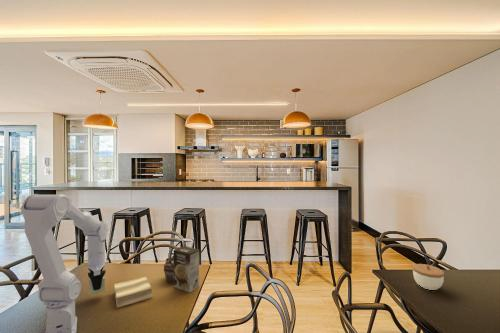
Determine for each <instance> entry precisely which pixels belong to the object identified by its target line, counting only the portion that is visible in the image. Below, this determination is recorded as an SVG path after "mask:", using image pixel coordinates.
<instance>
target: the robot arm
mask: <svg viewBox="0 0 500 333" xmlns="http://www.w3.org/2000/svg"><path fill="white" fill-rule="evenodd" d="M19 209H20V211H21V214H22V217H23V219H24V233H25V236H26V240H27V241H28V243H29V245H30V246H29V247H30V248H31V250H32V253H33V256H34V258H35V261H36V262H37V266H38V268H39V270H40V273H41V276H42V278H41V280H40V282H39V283H38V284H37V288H38V299H39V300H40V301H41V302H43V305H44V306H45V308H46V310H45V314H46V315H45V316H46V318H45V319H46V327H45V333H77V327H78V326H77V325H78V316H76V299H77V298H78V296H80V293H81V290H82V283H81V281H80V279H78V278H77V276H76V275H75V274H74V273H72V272H71V271H68V270H67V268H66V266H65V263H64V260H63V258H62V254H61V252H60V249H59V246H58V244H57V241H56V237H55V236H54V231H53V230H52V229H53V227H56V226H58V225H59V223H60V222H61V220H62V219H63V217H64V216H65V217H66V218H68V219H69V220H71V221H73V225H74V226H75V227H77V228H78V229H80V230H81V231H82V234H83V235H84V236H85V237H87V265H86V266H87V269H88V271H89V272H88V273H87V276H88V278H90V280H91V282H92V286H93V289H94V291H95V290H99V289H100V288H101V284H102V279H103V276H104V277H105V275H106V272H107V270H106V269H104V268H105V265H107V264H109V263H110V261H109V260H108V259H107V260H106V239H107V233H108V231H109V226H108V224H107V222H106V221H103V220H99V219H98V217H96V216H94V215H93V214H92V212H90V211H83V212H82V211H81V209H79V208H78V207H77V206H76V205H75V204H74V203H72V198H71V197H68V196H67V195H66V194H64V193H60V194H38V193H34V194H30V195H27V197H26V198H25V199H24V201H23V203H22V204H21V206H20V208H19Z"/></svg>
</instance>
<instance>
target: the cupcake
mask: <svg viewBox="0 0 500 333" xmlns="http://www.w3.org/2000/svg"><path fill="white" fill-rule="evenodd" d="M163 272H164V276H165V281H166V282H167V283H170V284H174V254H173V255H172V256H171V257H169V258H168V257H167V258H166V259H165V263H164V264H163Z"/></svg>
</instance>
